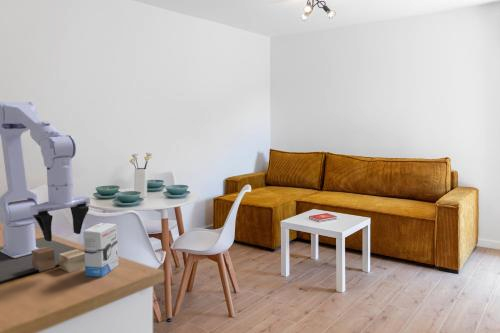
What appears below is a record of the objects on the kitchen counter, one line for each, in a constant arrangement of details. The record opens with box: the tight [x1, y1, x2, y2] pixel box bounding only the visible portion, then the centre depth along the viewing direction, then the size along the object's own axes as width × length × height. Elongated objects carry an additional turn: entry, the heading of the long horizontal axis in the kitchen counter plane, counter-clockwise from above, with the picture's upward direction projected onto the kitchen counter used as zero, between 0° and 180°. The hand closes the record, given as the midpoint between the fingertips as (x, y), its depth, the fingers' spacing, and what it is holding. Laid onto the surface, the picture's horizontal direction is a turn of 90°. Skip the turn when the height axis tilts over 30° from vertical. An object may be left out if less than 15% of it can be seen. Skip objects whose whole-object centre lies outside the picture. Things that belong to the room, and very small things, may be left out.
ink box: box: [82, 222, 119, 278], centre depth 105 cm, size 8×5×12 cm, turn 168°
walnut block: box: [31, 246, 56, 273], centre depth 107 cm, size 4×4×5 cm
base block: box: [58, 248, 85, 273], centre depth 107 cm, size 5×5×4 cm
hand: (63, 236), depth 102 cm, fingers open, 7 cm apart
